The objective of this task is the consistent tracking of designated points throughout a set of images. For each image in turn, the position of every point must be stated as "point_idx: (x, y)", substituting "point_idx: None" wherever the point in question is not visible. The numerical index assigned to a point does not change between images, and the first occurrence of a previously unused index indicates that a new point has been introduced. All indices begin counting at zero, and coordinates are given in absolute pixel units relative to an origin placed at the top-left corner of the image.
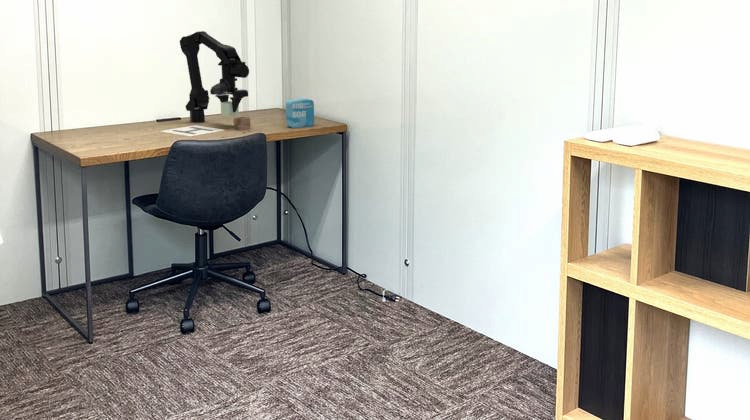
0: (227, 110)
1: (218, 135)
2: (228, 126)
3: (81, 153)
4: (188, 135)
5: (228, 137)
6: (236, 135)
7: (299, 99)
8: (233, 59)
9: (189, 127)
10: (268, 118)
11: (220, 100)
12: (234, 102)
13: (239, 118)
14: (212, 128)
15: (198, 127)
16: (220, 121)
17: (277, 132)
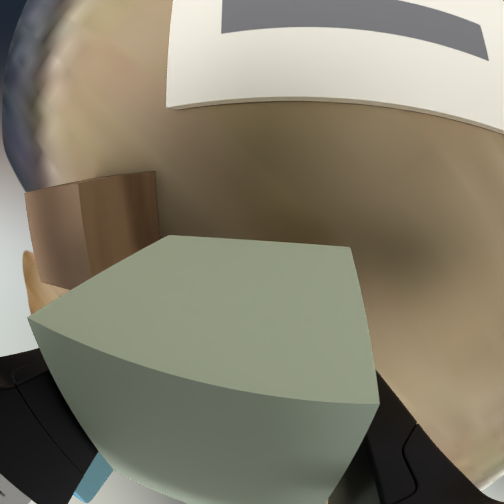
0: (166, 264)
1: (137, 19)
2: (368, 322)
3: None
4: None
5: (71, 45)
6: (71, 103)
7: (74, 494)
8: None
9: (487, 35)
10: (327, 501)
11: (449, 483)
12: (3, 359)
13: (48, 209)
14: (319, 77)
15: (451, 59)
16: (491, 398)
17: (43, 294)
